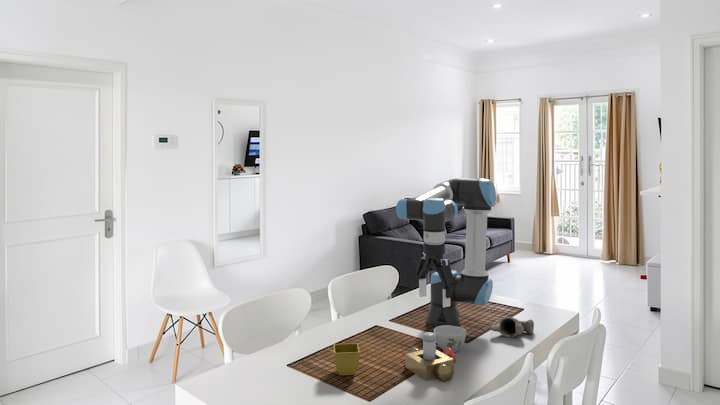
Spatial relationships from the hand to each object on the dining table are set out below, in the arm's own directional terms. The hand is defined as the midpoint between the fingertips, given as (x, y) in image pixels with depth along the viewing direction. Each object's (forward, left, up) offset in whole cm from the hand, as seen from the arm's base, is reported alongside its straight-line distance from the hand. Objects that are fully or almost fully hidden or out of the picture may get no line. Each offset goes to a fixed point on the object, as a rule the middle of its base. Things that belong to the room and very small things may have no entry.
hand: (434, 301), depth 183 cm
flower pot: (-10, -30, -24) cm, 40 cm away
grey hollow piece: (-7, +47, -24) cm, 54 cm away
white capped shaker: (+3, -4, -23) cm, 23 cm away
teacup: (-8, +13, -24) cm, 28 cm away
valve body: (+3, -2, -24) cm, 24 cm away
